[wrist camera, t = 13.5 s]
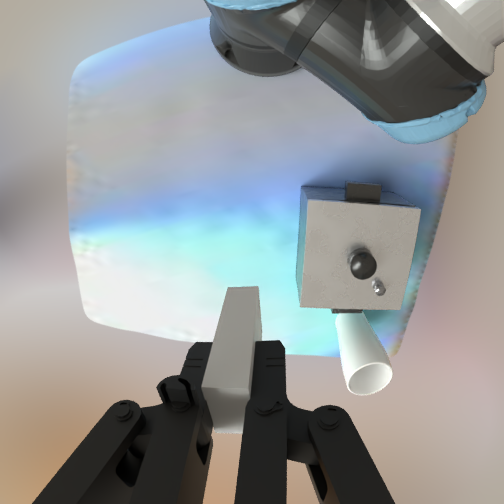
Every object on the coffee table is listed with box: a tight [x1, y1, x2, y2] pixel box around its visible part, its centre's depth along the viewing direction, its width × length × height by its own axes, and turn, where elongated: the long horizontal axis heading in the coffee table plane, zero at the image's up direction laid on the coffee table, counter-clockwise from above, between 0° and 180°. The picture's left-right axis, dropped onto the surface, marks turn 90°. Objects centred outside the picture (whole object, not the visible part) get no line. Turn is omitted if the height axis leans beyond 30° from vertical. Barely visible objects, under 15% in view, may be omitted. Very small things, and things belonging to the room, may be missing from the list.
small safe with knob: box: [296, 181, 415, 313], centre depth 41 cm, size 18×14×8 cm
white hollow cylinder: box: [335, 311, 393, 395], centre depth 43 cm, size 7×7×15 cm
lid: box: [300, 199, 421, 310], centre depth 35 cm, size 14×14×3 cm
